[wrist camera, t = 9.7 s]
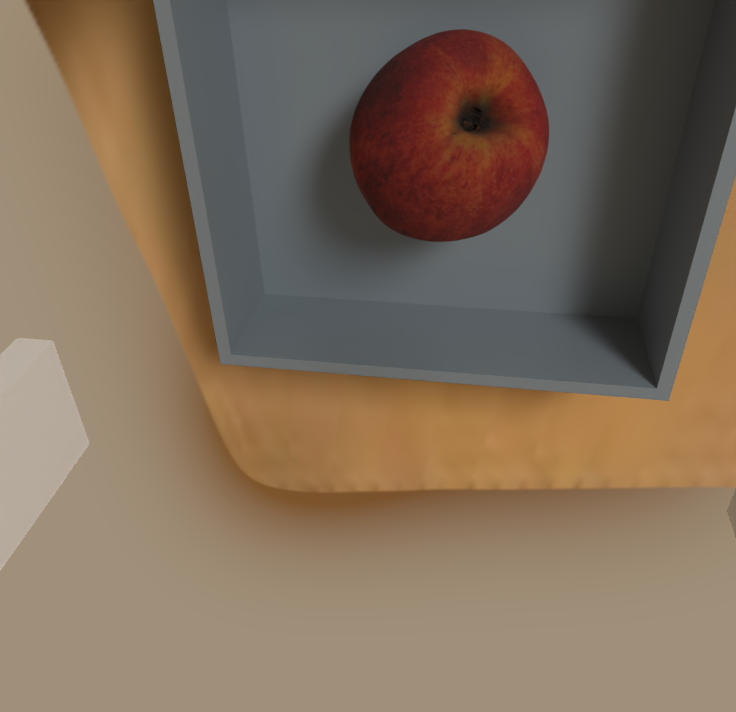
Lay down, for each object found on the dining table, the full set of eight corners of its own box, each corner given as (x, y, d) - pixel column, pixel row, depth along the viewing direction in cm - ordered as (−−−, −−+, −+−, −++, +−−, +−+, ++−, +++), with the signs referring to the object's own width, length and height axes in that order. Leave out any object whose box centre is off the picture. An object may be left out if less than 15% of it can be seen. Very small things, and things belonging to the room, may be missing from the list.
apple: (583, 124, 29) (603, 201, 22) (437, 229, 33) (419, 320, 26) (474, -29, 26) (462, 9, 20) (330, 105, 30) (281, 173, 24)
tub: (193, -169, 26) (121, -173, 21) (775, -190, 23) (846, -200, 18) (257, 298, 37) (220, 364, 32) (646, 324, 34) (668, 400, 30)
